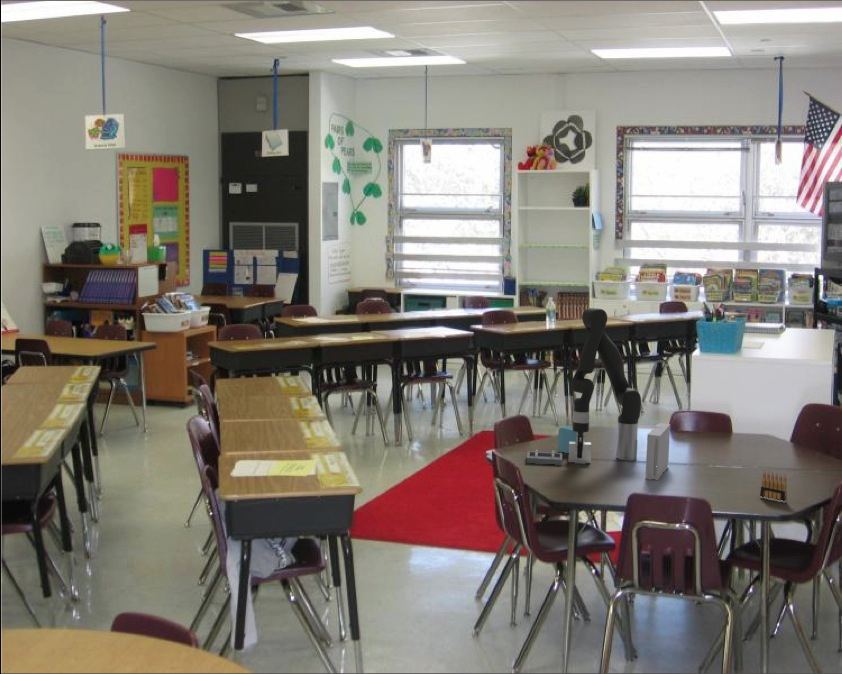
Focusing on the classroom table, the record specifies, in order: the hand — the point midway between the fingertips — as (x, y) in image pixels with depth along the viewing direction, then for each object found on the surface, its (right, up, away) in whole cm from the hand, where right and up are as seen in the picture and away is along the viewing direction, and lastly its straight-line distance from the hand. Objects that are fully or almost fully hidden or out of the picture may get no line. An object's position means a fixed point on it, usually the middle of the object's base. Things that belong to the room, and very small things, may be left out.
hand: (579, 456), depth 518 cm
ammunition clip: (+71, -12, -58) cm, 93 cm away
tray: (-16, -2, 0) cm, 16 cm away
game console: (+32, -6, -17) cm, 37 cm away
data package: (-2, -1, +18) cm, 18 cm away
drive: (0, -3, 0) cm, 3 cm away
